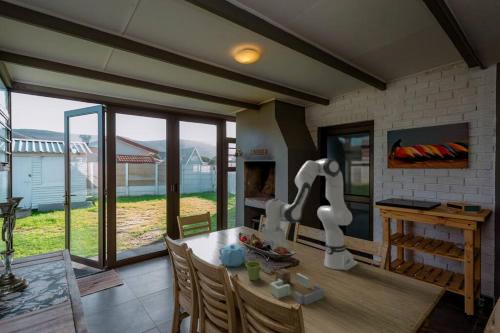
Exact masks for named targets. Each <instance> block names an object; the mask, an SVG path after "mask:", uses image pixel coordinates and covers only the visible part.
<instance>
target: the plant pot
mask: <svg viewBox="0 0 500 333" xmlns="http://www.w3.org/2000/svg"><path fill="white" fill-rule="evenodd" d="M245 266H246V268H247V274H248V278H249V280H250V281H258V280H259V279H260V272H261V266H262V262H260V261H256V260H252V261H248V262H247V263H245Z"/></svg>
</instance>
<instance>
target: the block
mask: <svg viewBox="0 0 500 333" xmlns="http://www.w3.org/2000/svg"><path fill="white" fill-rule="evenodd" d="M277 279H281V280H282V281H283V285H285V284H290V283H291V271H289V270H287V269H285V268H280V269H277V270H275V282H276V281H277Z"/></svg>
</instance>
